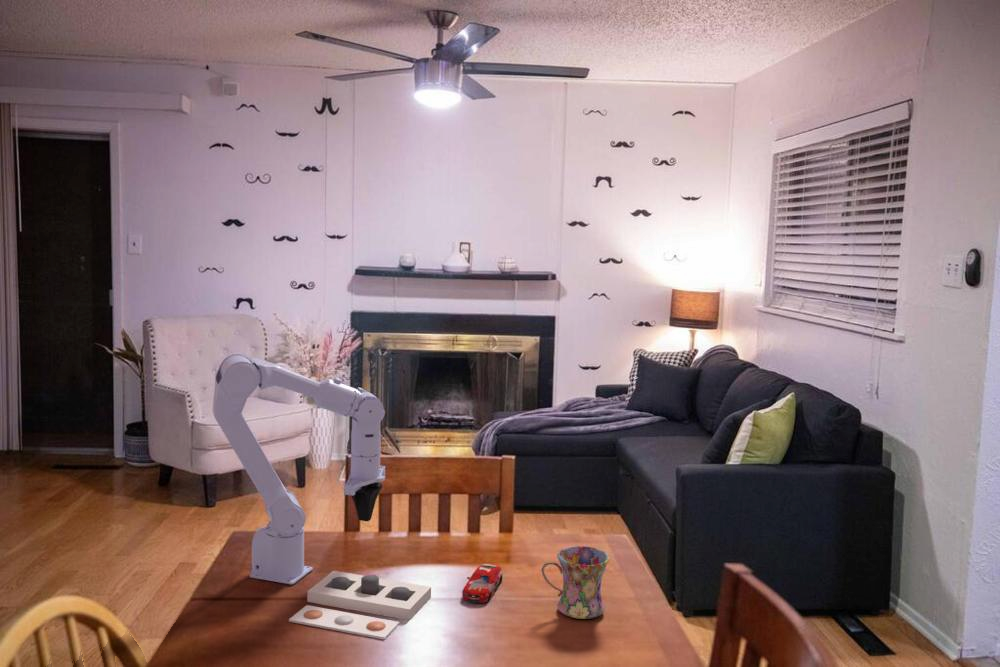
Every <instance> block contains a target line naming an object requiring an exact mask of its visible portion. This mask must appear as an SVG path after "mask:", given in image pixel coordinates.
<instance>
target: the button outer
mask: <svg viewBox="0 0 1000 667" xmlns="http://www.w3.org/2000/svg"><path fill="white" fill-rule="evenodd" d="M391 599H397V600H402V601H407V600H408V599H409V589H408V588H406V587H395V588H393V589H392V590H391Z"/></svg>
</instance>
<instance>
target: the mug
mask: <svg viewBox="0 0 1000 667" xmlns="http://www.w3.org/2000/svg"><path fill="white" fill-rule="evenodd" d="M556 555H557V556H556V557H557V559H558V561H559V564H560V565H559V564H558V563H557V562H555V561H546V562H545V563H544V564H543V565H542V567H541V573H542V576H543V578H544V579H543V580H545V582H547V584H548V585H549V586H551V588H553V589H554V590H557V591H558V593H557V596H558V597H560V599H559V600H558V601H557V610H558V611H559V612H561V613H562V614H563V615H565V616H567V617H569V618H575V619H580V620H581V619H583V620H588V619H594V618H597V617H600V616H601V615H603V613H604V611H605V605H604V603H603V600H602V594H601V591H602V590H601V588H602V587H601V586H602V585H601V584H602V579H603V575H604V573H605V571H606V570H605V569H606V568H607V566H608V564H609V561H610V556H609V554H608V553H607V552H605V551H604V550H602V549H600V548H596V547H591V546H584V545H583V546H582V545H574V546H567V547H564V548H561V549H560V550H559V551H558V552H557V554H556ZM549 565H553V566H556V567H557V568H558V570H559V572H560V574H561V575H562V581H563V582H562V586H563V587H562V589H561V588H560V587H558V586H556V585H555V584H553V583H552V582H551V581H550V580H549V579H548V577H547V575H546V574H545V567H547V566H549Z"/></svg>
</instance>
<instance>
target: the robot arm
mask: <svg viewBox="0 0 1000 667" xmlns="http://www.w3.org/2000/svg"><path fill="white" fill-rule="evenodd" d="M275 386H277V387H279V388H282V389H285V390H289V391H291V392H293V393H294V392H295V393H298V394H301V395H303V396H307V397H309V398H313V401H314V403H315V405H316V406H317V407H318V408H321V409H323V410H327V411H329V412H332V413H334V414H337V415H341V416H344V417H346V418H349V417H352V418H351V433H350V434H351V436H350V439H351V440H350V441H351V444H350V448H351V449H350V474H349V475H348V476H349V477H348V478H347V481H346V483H344V485H343V495H346V496H350V497H351V498H352V501H353V503H354V506H355V510H356V515H357V519H358V521H361V522H370V520H371V519H372V517H373V512H374V509H375V505H376V502H377V499H378V496H379V494H380V492H381V490H382V488H383V482H384V481H386V466H385V465H381V445H382V444H381V440H382V438H381V434H382V432H381V421H383V419H384V417H385V415H386V410H385V408H384V404H383V403H382V401H381V400H380V399H379V398H378V397H377V396H375V395H374V393H371V392H369V391H368V390H366V389H363V388H362V387H359V386H358V387H357V388H355V387H352V386H349V385H347V384H344V383H342V379H340V378H337V377H333V379H331V378H324V379H323V380H320V381H319V380H318V381H317V380H315V379H312V378H310V377H307V376H305V375H302V374H300V373H297V372H295V371H292V370H290V369H289V368H285V367H284V366H283V367H282V366H280V365H278V364H275V363H273V362H270V361H266V360H264V359H260V358H257V357H251V359H250V358H249V357H248V356H246V355H245V354H242V353H232V354H230V355H227V356H226V357H225V358H224V359H223V360H222V361H221V363H220V365H219V366H218V369H217V371H216V373H215V376H214V391H213V392H214V393H213V402H212V404H213V405H212V413H213V417H214V418H215V421H216V422H217V424H218V426H219V427H220V429H221V431H222V432H223V434H224V436H225V437H226V439H227V441H228V442H229V445H230V447H231V448H232V449H233V451H234V452H235V454H236V456H237V459H239V461H240V462H241V465H242V466H243V468H244V469H245V471H246V474H248V476H249V478H250V479H251V481H252V483H253V485H254V487H255V488H256V490H257V492H258V494H259V495H260V497H261V499H262V500H263V502H264V506H265V507H264V508H265V512H266V515H267V516H268V518H269V521H268V524H266V526H261V527H259V528H257V530H256V531H255V532H254V534H253V536H252V541H251V573H250V574H249V578H251V579H252V578H253V579H257V580H263V581H264V580H265V581H269V582H275V583H280V584H286V585H294V584H296V583H297V582H298V581H300V580H301V579H303V577H305V576H306V575H307V574H309V573H310V572H311V571H313V568H314V567H312V566H308V565H305V524H306V513H305V511H304V509H303V507H302V506H301V505H300V504H299V502H298V498H297V495H295V493H294V492H292V491H290V490H288V489H287V488H286V487H285V485H284V484H283V482H282V481H281V479H280V477H279V476H278V474H277V472H276V471H275V468H274V467H273V465H272V464H271V461H270V460H269V458H268V457H267V455H266V454H265V452H264V449H263V448H262V446H261V445H260V443H259V441H258V439H257V438H256V436H255V434H254V432H253V431H252V430H251V428H250V426H249V423H248V422H247V420H246V419H245V417H244V416H243V410H244V408H245V406H246V403H247V400H248V399H249V397H251V395H252V394H253V393H254V392H255V391H256V389H257V388H258V387H259V389H260V390H261V391H262V390H266V389H268V388H271V387H275Z"/></svg>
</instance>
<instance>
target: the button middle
mask: <svg viewBox="0 0 1000 667" xmlns="http://www.w3.org/2000/svg"><path fill="white" fill-rule="evenodd" d="M379 578H380V577H379V576H377V575H374V574H367V575H363V577H362V578H361V593H362V594H368V595H374V596H376V595H375V594H377V593H378V592H379Z"/></svg>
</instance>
